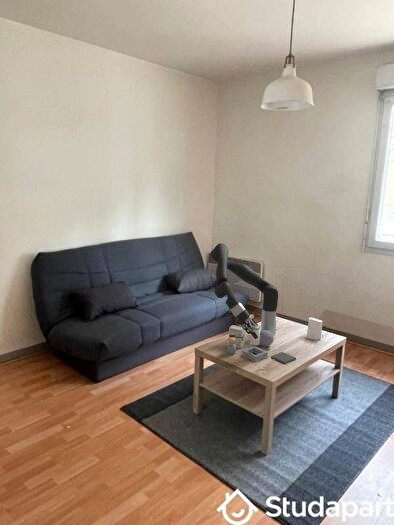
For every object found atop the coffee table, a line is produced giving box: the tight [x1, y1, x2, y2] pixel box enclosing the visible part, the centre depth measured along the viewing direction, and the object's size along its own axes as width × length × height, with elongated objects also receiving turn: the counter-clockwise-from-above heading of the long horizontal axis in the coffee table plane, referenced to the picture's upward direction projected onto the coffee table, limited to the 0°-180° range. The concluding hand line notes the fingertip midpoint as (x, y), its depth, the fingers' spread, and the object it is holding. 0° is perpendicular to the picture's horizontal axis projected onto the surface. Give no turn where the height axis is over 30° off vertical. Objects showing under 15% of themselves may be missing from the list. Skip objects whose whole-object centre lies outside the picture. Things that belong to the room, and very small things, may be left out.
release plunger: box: [228, 337, 236, 344], centre depth 226 cm, size 4×4×2 cm
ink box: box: [227, 324, 246, 349], centre depth 237 cm, size 8×5×12 cm, turn 62°
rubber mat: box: [270, 351, 297, 365], centre depth 222 cm, size 10×10×1 cm
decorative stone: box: [259, 330, 275, 348], centre depth 238 cm, size 10×10×10 cm
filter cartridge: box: [250, 325, 261, 346], centre depth 222 cm, size 5×5×10 cm
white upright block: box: [306, 317, 323, 340], centre depth 255 cm, size 9×9×12 cm
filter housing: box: [226, 344, 269, 363], centre depth 225 cm, size 16×19×5 cm
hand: (258, 336), depth 221 cm, fingers closed on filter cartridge, 5 cm apart
